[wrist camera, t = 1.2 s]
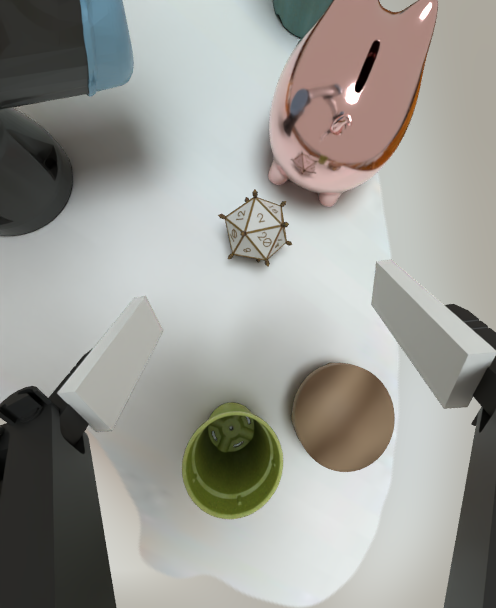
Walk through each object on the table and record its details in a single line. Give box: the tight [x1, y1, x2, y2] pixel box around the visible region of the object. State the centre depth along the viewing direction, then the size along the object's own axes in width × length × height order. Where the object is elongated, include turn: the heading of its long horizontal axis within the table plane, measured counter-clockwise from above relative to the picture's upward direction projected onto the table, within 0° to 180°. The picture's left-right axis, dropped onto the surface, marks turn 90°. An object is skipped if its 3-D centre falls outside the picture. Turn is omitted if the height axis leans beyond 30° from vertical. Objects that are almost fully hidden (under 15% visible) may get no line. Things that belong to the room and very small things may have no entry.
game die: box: [218, 189, 292, 267], centre depth 29 cm, size 9×8×10 cm
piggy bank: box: [268, 0, 438, 207], centre depth 27 cm, size 15×18×16 cm
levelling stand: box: [291, 363, 394, 472], centre depth 30 cm, size 12×12×4 cm
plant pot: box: [182, 402, 283, 519], centre depth 26 cm, size 9×9×9 cm
